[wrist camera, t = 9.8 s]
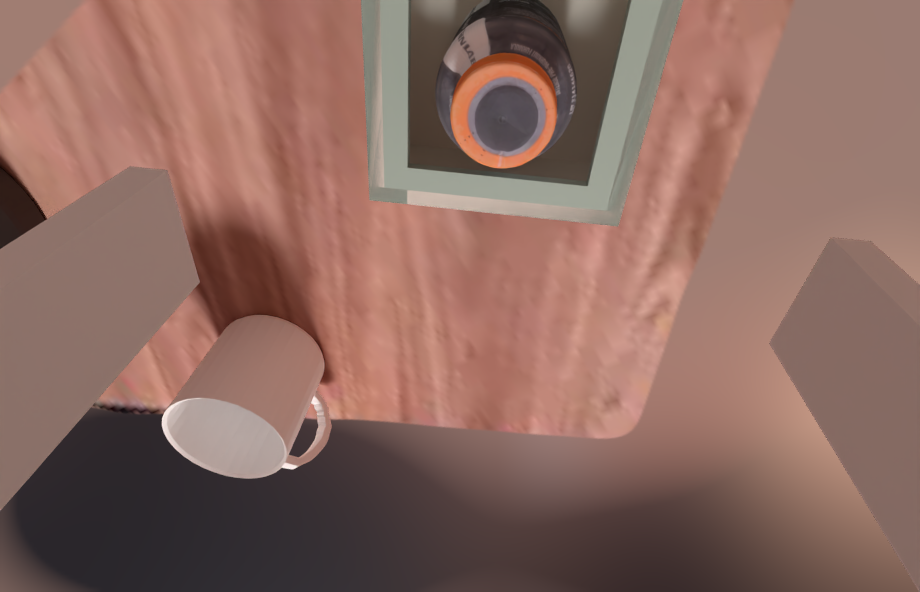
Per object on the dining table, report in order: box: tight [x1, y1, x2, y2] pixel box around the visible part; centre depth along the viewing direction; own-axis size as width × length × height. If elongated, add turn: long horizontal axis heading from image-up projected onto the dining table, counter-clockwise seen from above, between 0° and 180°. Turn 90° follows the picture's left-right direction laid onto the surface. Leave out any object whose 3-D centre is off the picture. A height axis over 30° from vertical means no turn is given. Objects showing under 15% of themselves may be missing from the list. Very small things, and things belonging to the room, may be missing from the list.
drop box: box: [361, 0, 683, 226], centre depth 25 cm, size 13×13×7 cm
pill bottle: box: [435, 0, 577, 168], centre depth 23 cm, size 6×6×11 cm
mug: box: [162, 315, 332, 478], centre depth 41 cm, size 12×9×9 cm
